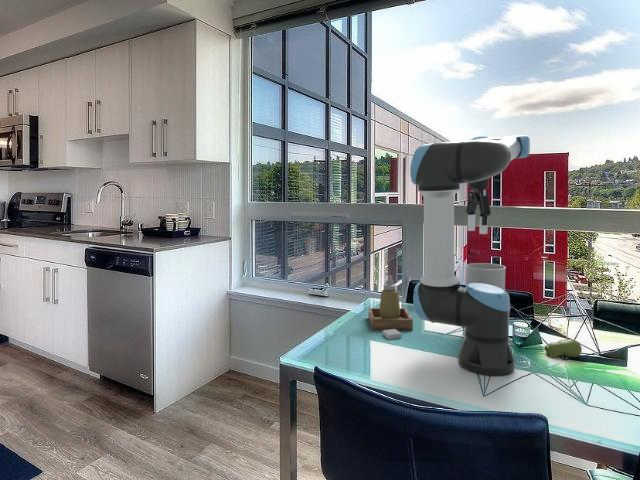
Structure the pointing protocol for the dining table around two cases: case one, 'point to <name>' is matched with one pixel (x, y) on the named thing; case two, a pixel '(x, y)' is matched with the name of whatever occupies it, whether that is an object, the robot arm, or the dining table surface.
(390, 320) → the tray
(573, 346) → the pear
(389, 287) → the squeeze bottle
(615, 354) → the dining table surface
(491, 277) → the cylinder vase
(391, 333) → the grey flat block
